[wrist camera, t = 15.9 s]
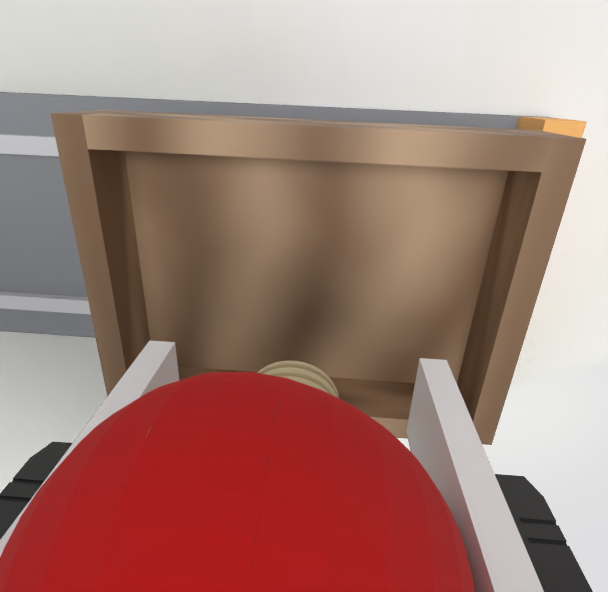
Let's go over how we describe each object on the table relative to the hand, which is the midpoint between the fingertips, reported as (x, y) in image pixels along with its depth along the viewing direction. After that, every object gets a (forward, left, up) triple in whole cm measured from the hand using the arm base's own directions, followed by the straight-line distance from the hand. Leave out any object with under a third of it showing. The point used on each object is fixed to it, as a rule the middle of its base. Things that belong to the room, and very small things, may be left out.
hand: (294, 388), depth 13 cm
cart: (0, 0, -13) cm, 13 cm away
